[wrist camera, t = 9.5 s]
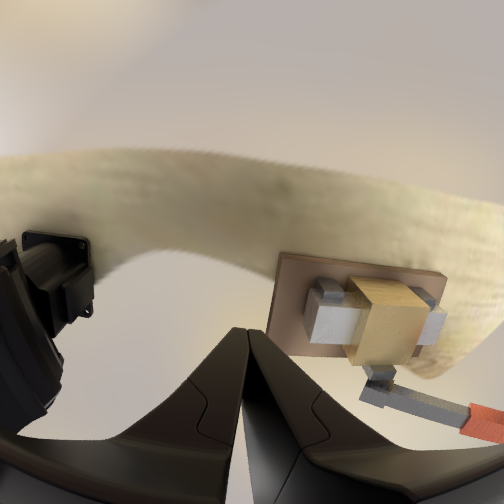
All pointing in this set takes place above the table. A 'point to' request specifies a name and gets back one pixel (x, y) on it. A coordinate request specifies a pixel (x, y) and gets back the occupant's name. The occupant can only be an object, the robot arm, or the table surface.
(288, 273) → the board
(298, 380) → the robot arm
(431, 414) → the lever
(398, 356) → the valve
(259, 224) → the table surface
